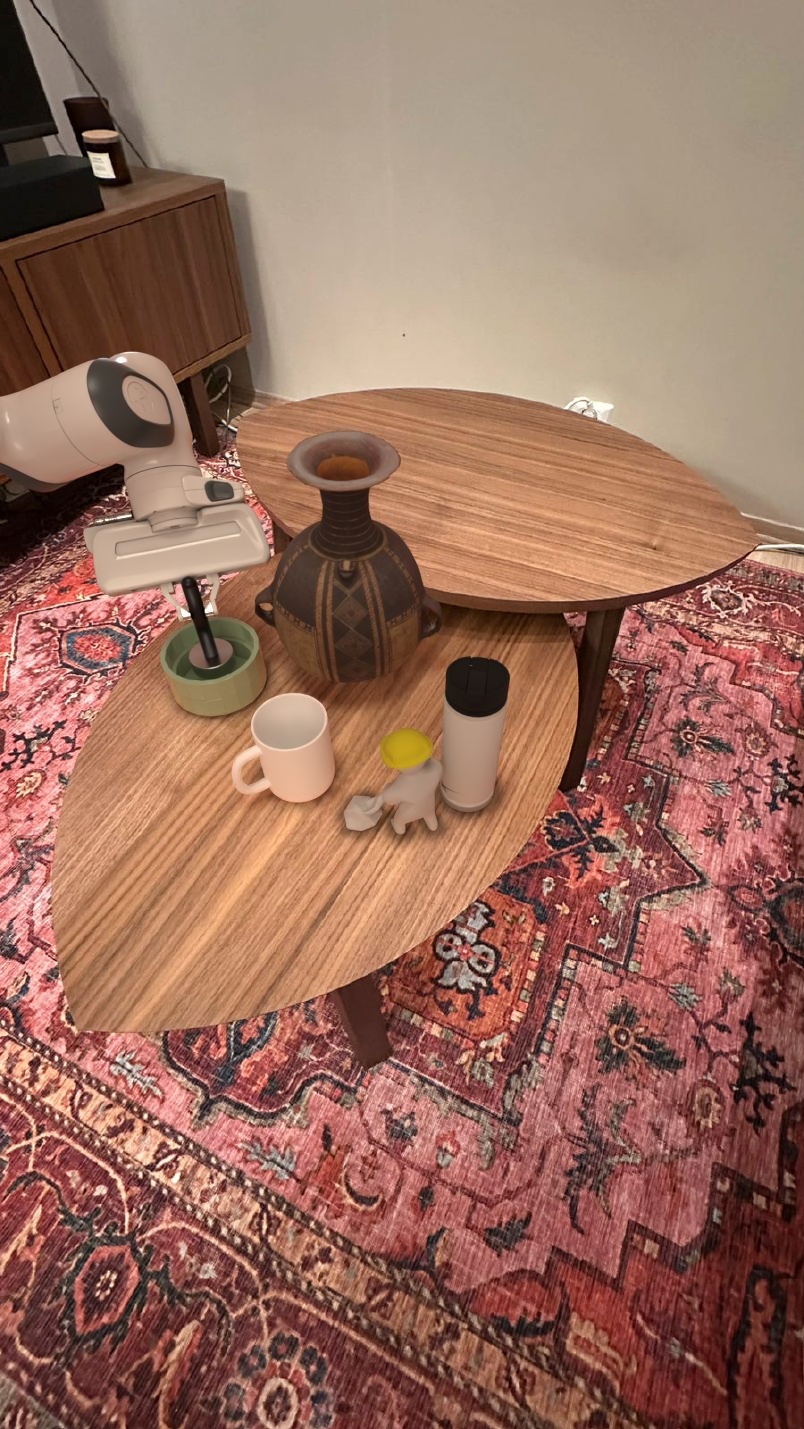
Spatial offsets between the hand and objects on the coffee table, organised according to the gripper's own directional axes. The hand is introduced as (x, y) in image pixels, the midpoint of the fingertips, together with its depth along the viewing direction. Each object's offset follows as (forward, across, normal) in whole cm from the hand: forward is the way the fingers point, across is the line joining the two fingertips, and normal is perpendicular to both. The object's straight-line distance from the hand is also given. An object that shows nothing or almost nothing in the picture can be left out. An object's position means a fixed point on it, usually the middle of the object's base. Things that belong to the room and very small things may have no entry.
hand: (199, 618), depth 82 cm
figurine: (+27, +16, -10) cm, 33 cm away
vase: (+9, +18, +8) cm, 22 cm away
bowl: (+8, 0, +9) cm, 12 cm away
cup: (+22, +5, -4) cm, 23 cm away
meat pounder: (+6, 0, +6) cm, 8 cm away
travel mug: (+27, +25, -10) cm, 38 cm away
